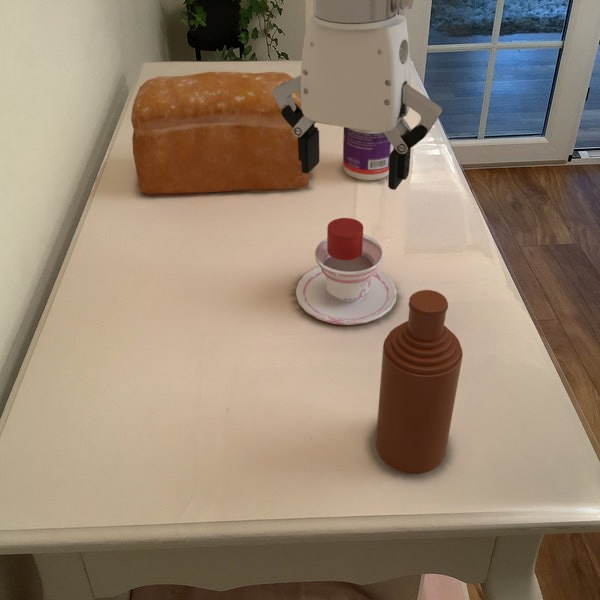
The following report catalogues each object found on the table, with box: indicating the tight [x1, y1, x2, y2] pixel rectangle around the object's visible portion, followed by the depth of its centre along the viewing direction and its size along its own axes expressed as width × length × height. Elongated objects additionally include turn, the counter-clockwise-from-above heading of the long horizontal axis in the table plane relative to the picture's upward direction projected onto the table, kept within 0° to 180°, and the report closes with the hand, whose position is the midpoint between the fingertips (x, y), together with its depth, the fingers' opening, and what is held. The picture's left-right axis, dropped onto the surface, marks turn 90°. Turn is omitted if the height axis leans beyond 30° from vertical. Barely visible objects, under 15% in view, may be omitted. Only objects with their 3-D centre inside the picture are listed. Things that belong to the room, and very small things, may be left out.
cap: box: [326, 217, 364, 260], centre depth 76 cm, size 4×4×3 cm
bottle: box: [375, 289, 464, 475], centre depth 57 cm, size 6×6×17 cm
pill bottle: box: [342, 127, 394, 181], centre depth 101 cm, size 8×8×14 cm
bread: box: [130, 71, 310, 195], centre depth 101 cm, size 14×26×16 cm, turn 93°
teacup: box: [295, 233, 397, 326], centre depth 78 cm, size 12×12×6 cm
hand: (352, 175), depth 70 cm, fingers open, 9 cm apart
